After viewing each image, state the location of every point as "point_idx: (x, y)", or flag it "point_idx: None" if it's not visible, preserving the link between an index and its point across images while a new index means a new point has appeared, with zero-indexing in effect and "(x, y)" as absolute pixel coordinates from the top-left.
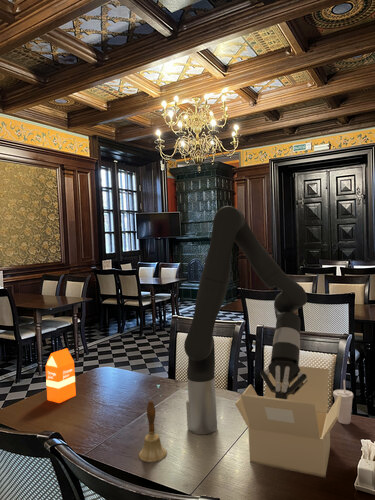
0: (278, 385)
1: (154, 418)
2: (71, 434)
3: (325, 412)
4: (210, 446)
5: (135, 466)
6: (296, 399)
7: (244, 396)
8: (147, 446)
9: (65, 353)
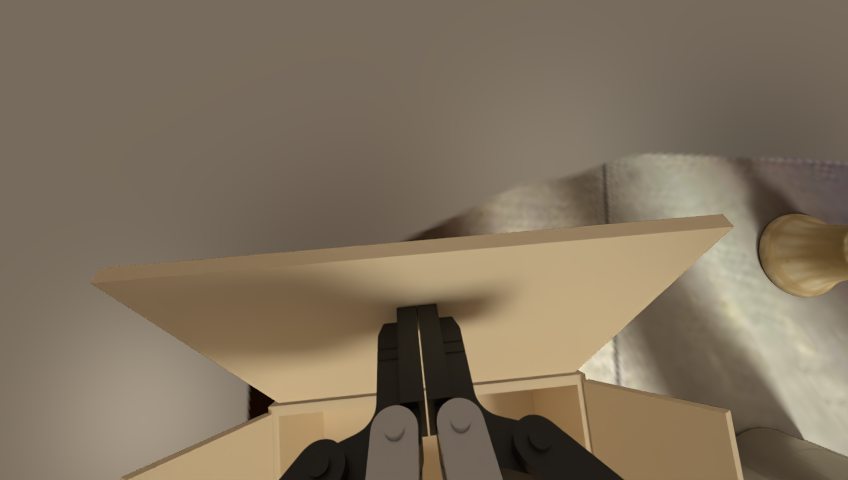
0: (467, 471)
1: None
2: None
3: None
4: (677, 375)
5: (797, 185)
6: None
7: (686, 222)
8: (841, 225)
9: None
